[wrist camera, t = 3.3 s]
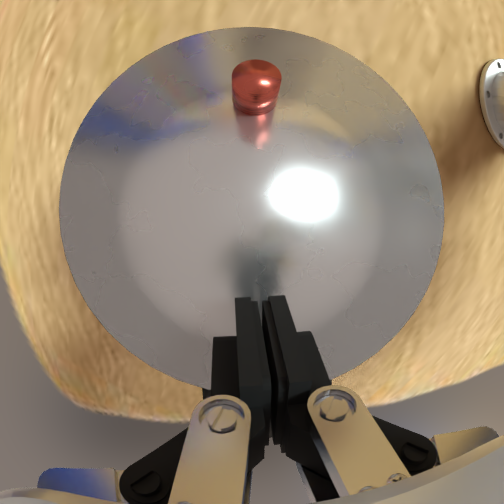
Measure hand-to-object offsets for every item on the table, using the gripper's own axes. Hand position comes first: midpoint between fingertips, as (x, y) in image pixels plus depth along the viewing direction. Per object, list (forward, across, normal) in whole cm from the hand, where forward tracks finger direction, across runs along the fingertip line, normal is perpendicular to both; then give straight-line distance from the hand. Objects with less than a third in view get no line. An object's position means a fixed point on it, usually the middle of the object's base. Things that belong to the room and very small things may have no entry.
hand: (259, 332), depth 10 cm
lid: (+4, 0, -4) cm, 6 cm away
